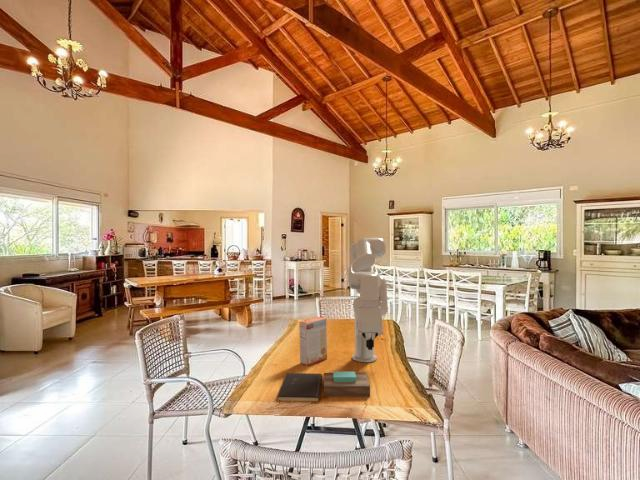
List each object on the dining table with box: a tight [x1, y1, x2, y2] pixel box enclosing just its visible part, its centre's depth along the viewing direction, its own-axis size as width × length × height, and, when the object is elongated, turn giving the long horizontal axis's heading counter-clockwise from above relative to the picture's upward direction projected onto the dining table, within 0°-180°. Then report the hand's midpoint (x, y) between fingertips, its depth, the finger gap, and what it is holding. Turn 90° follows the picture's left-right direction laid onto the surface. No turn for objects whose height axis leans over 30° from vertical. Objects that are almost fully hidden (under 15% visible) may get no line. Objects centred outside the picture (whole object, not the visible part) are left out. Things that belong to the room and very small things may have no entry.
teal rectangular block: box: [332, 370, 356, 382], centre depth 145 cm, size 6×9×2 cm, turn 90°
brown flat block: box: [323, 371, 371, 398], centre depth 145 cm, size 14×18×4 cm
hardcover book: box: [276, 372, 323, 402], centre depth 146 cm, size 16×23×2 cm
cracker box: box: [298, 316, 328, 366], centre depth 178 cm, size 14×6×21 cm, turn 135°
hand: (370, 349), depth 144 cm, fingers closed
